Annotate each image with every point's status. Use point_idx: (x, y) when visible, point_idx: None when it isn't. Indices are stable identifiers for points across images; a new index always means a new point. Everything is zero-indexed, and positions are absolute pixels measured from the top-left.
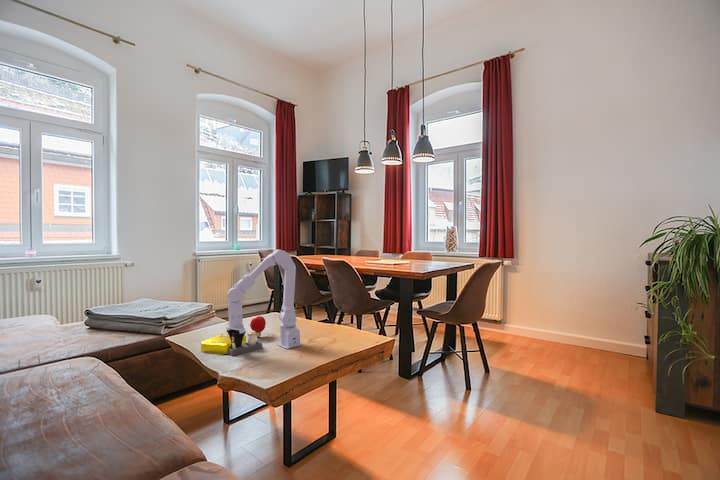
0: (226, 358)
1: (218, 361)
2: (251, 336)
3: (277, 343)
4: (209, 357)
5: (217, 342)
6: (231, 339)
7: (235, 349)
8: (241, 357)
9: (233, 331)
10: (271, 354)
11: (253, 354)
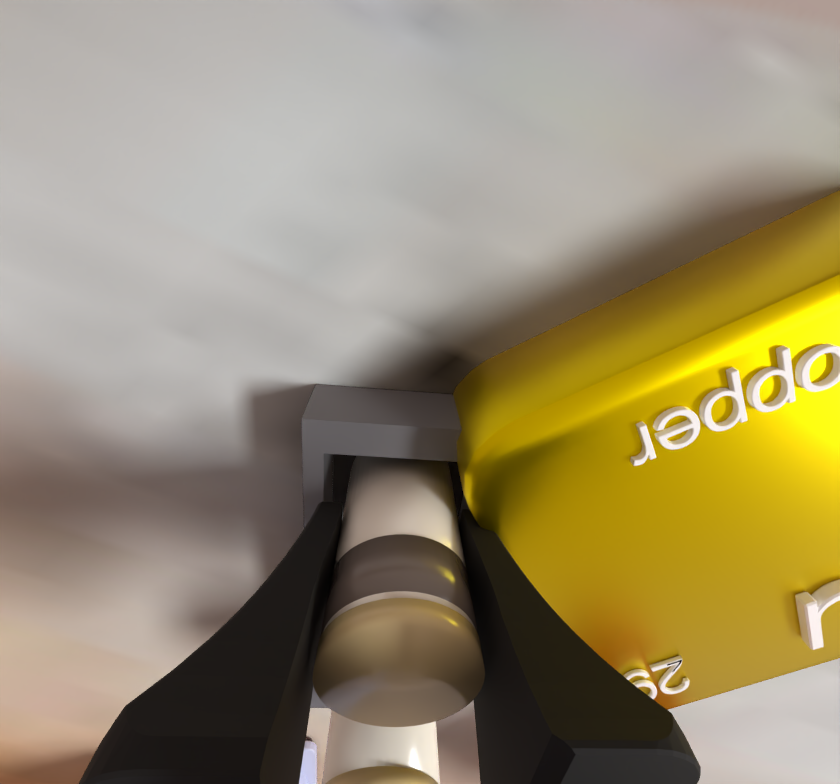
0: (267, 299)
1: (214, 151)
2: (330, 765)
3: (304, 751)
4: (513, 135)
5: (731, 407)
6: (487, 580)
7: (317, 477)
8: (174, 437)
9: (513, 778)
10: (76, 637)
11: (190, 550)
